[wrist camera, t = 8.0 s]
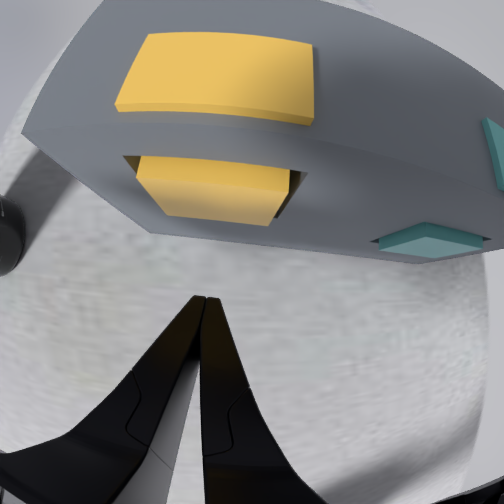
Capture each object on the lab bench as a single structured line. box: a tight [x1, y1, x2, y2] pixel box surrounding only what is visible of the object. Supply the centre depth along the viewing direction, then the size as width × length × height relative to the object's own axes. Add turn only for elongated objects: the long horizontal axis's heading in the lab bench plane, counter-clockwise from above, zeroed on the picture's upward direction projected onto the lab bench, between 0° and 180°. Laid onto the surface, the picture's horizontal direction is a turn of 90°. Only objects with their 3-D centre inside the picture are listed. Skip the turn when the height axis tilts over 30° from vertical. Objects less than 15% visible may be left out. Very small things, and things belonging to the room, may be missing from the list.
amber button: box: [136, 156, 290, 226], centre depth 9 cm, size 4×4×4 cm
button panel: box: [21, 0, 504, 264], centre depth 12 cm, size 6×20×14 cm, turn 84°
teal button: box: [379, 222, 483, 258], centre depth 12 cm, size 4×4×4 cm
